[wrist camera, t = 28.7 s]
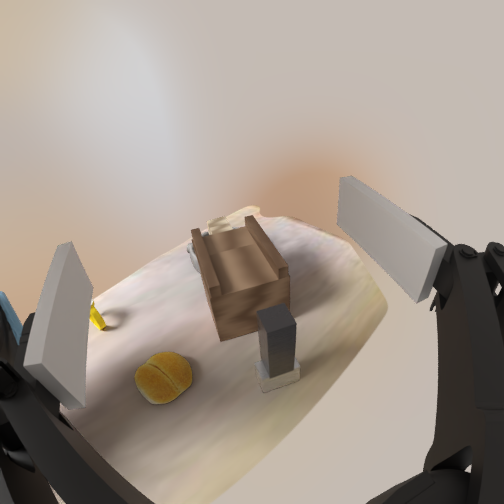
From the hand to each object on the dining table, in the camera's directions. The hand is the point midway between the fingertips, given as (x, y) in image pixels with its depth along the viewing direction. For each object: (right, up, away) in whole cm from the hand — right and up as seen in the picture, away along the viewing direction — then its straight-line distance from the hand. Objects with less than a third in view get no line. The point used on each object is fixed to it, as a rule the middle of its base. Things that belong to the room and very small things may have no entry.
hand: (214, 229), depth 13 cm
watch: (-28, -15, +38) cm, 49 cm away
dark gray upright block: (+5, -19, +27) cm, 34 cm away
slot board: (0, -10, +41) cm, 42 cm away
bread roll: (-12, -21, +28) cm, 37 cm away
